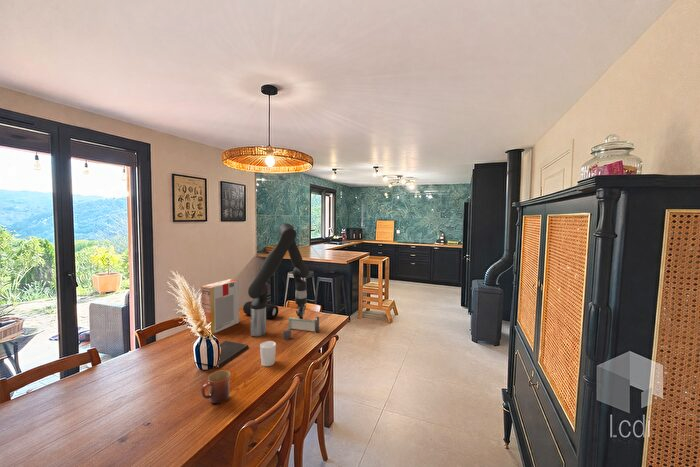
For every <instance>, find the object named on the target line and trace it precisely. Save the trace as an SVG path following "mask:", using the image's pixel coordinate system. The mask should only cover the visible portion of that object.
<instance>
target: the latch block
mask: <svg viewBox="0 0 700 467" xmlns="http://www.w3.org/2000/svg"><path fill="white" fill-rule="evenodd" d="M291 331H292V329H289V328H287V329H283V334H282V335H283V340H291V338H292V337H291V336H292V334H291Z"/></svg>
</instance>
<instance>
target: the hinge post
mask: <svg viewBox="0 0 700 467" xmlns="http://www.w3.org/2000/svg"><path fill="white" fill-rule="evenodd" d="M314 333H317V334H319V333H320V316H315V331H314Z"/></svg>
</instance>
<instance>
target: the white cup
mask: <svg viewBox="0 0 700 467" xmlns="http://www.w3.org/2000/svg"><path fill="white" fill-rule="evenodd" d="M276 347H277V343H276V342H275V341H273V340H267V341H264V342H261V343H260V344H259V350H260V362H261V366H262V367H271V366H273V365H274V364H275V361H276V359H275V358H276V350H277V348H276Z"/></svg>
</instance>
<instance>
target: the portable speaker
mask: <svg viewBox="0 0 700 467" xmlns="http://www.w3.org/2000/svg"><path fill="white" fill-rule="evenodd" d="M252 301H253V300H251V301H247V302H246V301H245V303H243V304H244V305H243V306H242V310H243V313H245V314H246V315H247V316H251V303H252ZM279 311H280V310H279V307H278V305H276V304H272V303H266V319H274V318H276V317H277V316H278V314H279Z"/></svg>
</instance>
